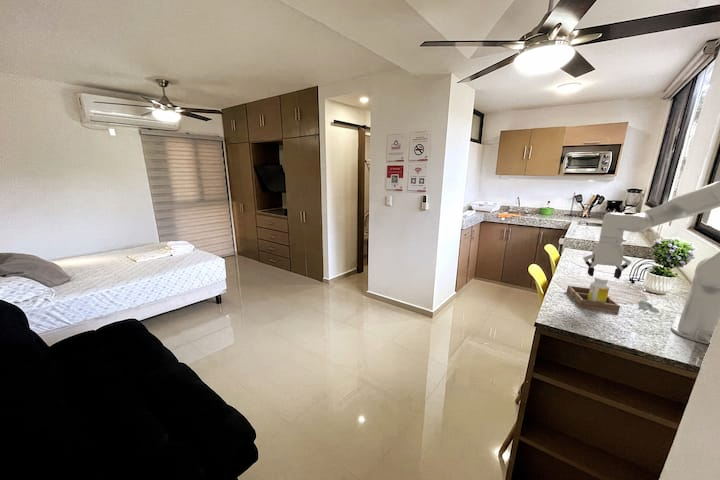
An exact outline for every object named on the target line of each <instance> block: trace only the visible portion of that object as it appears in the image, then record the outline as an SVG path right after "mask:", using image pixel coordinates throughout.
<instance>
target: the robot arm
mask: <svg viewBox="0 0 720 480" xmlns="http://www.w3.org/2000/svg"><path fill="white" fill-rule="evenodd" d="M717 208H720V180H718V181H715V182H713V183H710V184H707V185H705V186H702V187H700V188H697V189H693V190H692V191H689V192H686V193H684V194H681V195H678V196H677V197H673V198H671V199H670V200H669V201H666V202H664V203H662V204H660V205H657V206H655V207H654V206H653V207H651V208H649V209H646V210H644V211H641V212H638V213H635V214H625V213H622V212H606V213H604V215H603V218H602V223H601V229H600V235H599V238H598V239H599V240H598V241H596V243H595V245H594V247H593V249H592V252H591V254H590V255H587V256H584V257H582V259H583V261H584V264H585V265H587V267H588V270H587V274H588V276H590V277H594V272H595V268H594V267H596V266H597V265H599V266H600V265H601V266H608V267H609V266H611V267H612V266H613V267H616V268H615V269H614V275H613V277H614V278H615V279H617V280H620V278H621V276H622V273H623V271H624V270H625V269H627V268H628V267H629V266H630V265H631V263H632V260H630V259H627V258H625V257H624V244H623V242H624V243H625V242H626V241H627V239H626V238H624V233H625V231H626V232H629V233H630V232H631V233H641V232H644V231H646V230H649V229H650V228H651V229H652V228H655V227H657V226H660V225H663V224H666V223H669V222H671V221H675V220H679V219H686V218H690V217H693V216H696V215H699V214H703V213H705V212H708V211H712V210H714V209H717ZM590 261H591V262H590ZM623 262H624V263H623ZM719 315H720V251H718V252H717V253H715V254H714V255H713V256H710V257H707V258H704V259H702V260H701V261H700V262H698V263H697V265H696V268H695V269H694V274H693V278H692V282H691V284H690V288H689V290H688V294H687V297H686V299H685V303H684V305H683V309H682V312H681V316H680V318H679V322H678V324H673V325H671V327H670V329H671V331H672V332H673V333H675V334H676V335H678V336H680V337H683V338H685V339H687V340H689V341H693V342H697V343H700V344H705V345H710V344H709V343H710V340H711V337H712V334H713V331H714V329H715V326H716V324H717V321H718V317H719Z"/></svg>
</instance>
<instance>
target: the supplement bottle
mask: <svg viewBox="0 0 720 480" xmlns="http://www.w3.org/2000/svg"><path fill="white" fill-rule="evenodd" d="M608 282H609V279H608V278H607V277H604V276H595V277H594V281H591V283H590V285H589V288H590V290H589V294H588V299H587V301H594V302H601V303H606V300H607V296H609V291H610V285H609V284H608Z"/></svg>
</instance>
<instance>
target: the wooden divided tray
mask: <svg viewBox="0 0 720 480" xmlns="http://www.w3.org/2000/svg"><path fill="white" fill-rule="evenodd" d="M589 290H590V287H582V286H576V285H567V288H566V292H567V294H568V295H569V296H570V298H572V300H573V301H575V303H576V304H577V305H578V306H579V307H580V308H581V309H582V308H583V309H589V310H597V311H603V312H609V313H614V314H615V313H616V314H618V313H620V307H621V305H620V304H618V303H617V302H616V301H615V300H614V299H612V298H611V297H610V296H609V295H608V296H607V300H606V303H601V302H594V301H587V299H588V294H589Z"/></svg>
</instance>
